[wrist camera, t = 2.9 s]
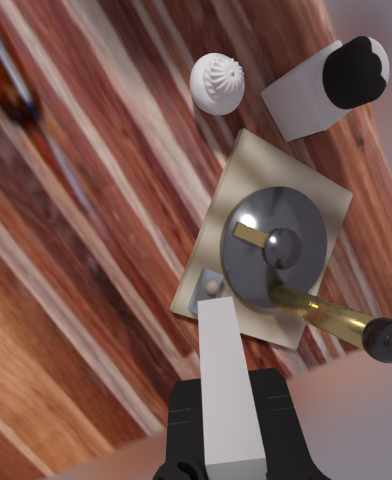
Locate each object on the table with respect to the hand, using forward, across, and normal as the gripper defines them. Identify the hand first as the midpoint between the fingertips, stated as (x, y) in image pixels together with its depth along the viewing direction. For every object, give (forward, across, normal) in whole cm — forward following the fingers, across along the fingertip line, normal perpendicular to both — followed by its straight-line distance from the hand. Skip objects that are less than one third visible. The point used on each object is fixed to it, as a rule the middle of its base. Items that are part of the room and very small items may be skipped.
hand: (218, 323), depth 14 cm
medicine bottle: (+34, +13, +5) cm, 36 cm away
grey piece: (+30, +2, +8) cm, 31 cm away
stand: (+26, +7, -11) cm, 29 cm away
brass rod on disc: (+25, +8, -11) cm, 28 cm away
